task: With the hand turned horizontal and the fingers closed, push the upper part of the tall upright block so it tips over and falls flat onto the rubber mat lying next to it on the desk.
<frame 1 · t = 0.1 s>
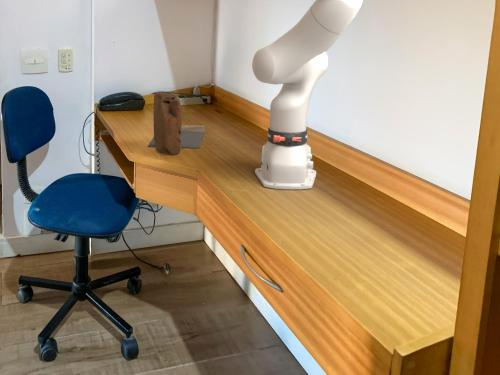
block: (168, 152, 206), on the table
mat: (177, 139, 223), on the table
stop strip: (181, 131, 235), on the table
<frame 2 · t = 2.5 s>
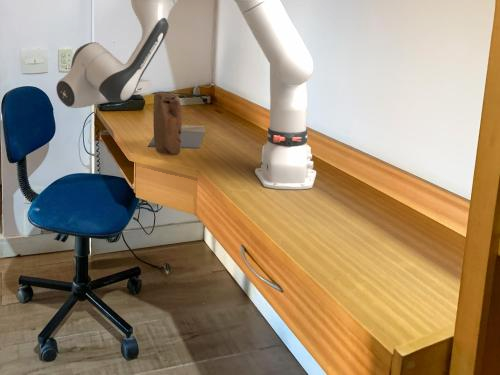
hand: (135, 81, 184), 26 cm above the table, tool horizontal, fingers open, 6 cm apart
nothing on the table moved.
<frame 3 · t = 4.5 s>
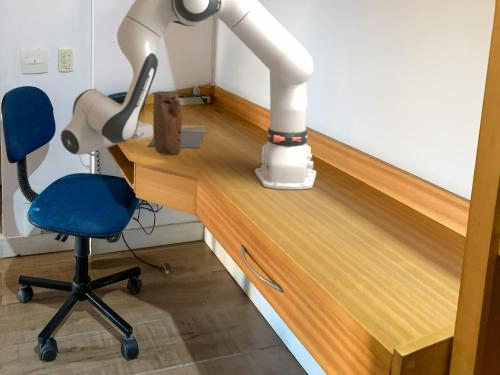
hand: (137, 123, 188), 13 cm above the table, tool horizontal, fingers closed
nothing on the table moved.
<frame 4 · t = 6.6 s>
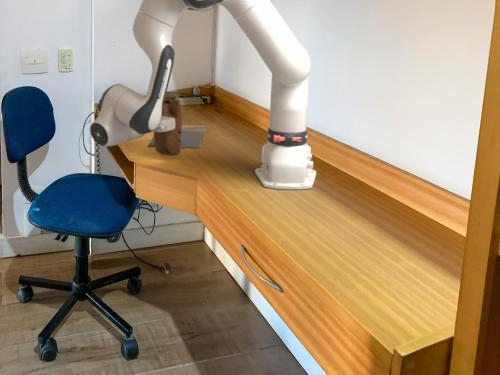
hand: (159, 117, 198), 13 cm above the table, tool horizontal, fingers closed
block: (168, 152, 206), on the table, touching gripper
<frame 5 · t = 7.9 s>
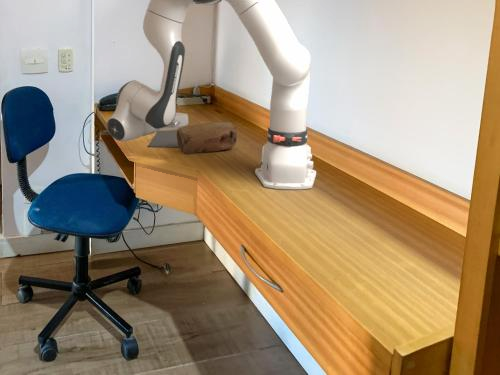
hand: (172, 113, 204), 13 cm above the table, tool horizontal, fingers closed
block: (178, 141, 206), point 3 cm above the table
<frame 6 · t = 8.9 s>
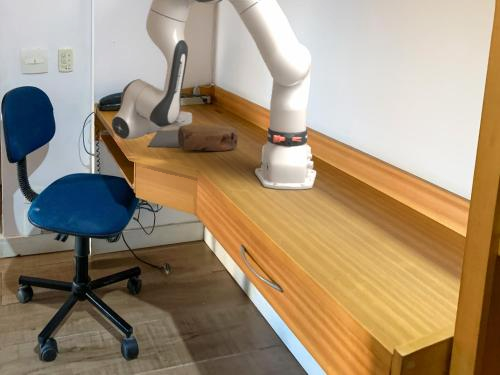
hand: (176, 112, 206), 13 cm above the table, tool horizontal, fingers closed
block: (179, 138, 206), point 4 cm above the table, touching mat
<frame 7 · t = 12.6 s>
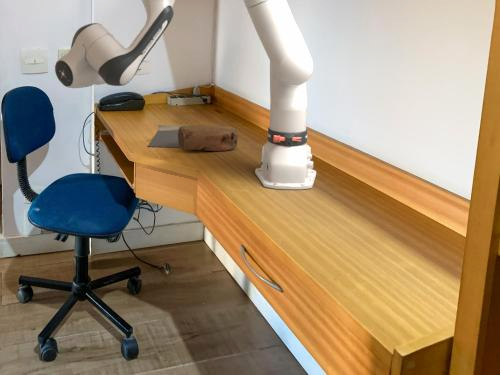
hand: (134, 63, 182), 32 cm above the table, tool horizontal, fingers closed
nothing on the table moved.
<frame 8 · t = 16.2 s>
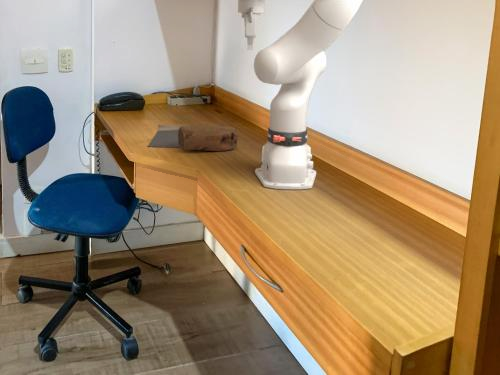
hand: (250, 49, 205), 34 cm above the table, tool pointing down, fingers closed
nothing on the table moved.
at the end: block tilted 93°; block inside the target area (14.7 cm from its centre), point 4.5 cm above the table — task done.
